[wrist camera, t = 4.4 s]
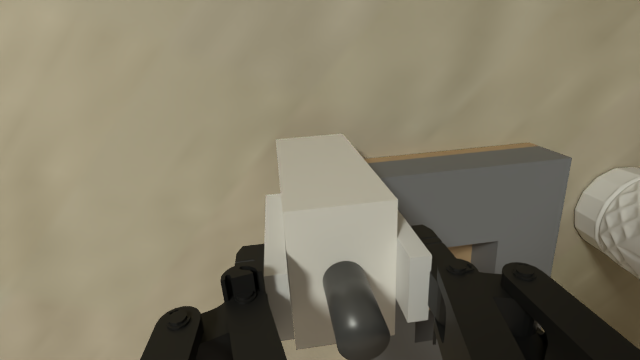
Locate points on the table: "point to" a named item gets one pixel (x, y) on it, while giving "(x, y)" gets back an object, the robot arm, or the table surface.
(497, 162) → the socket box
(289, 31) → the table surface
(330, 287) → the plug
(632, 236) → the white cup
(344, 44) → the table surface
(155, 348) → the robot arm
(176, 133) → the table surface
